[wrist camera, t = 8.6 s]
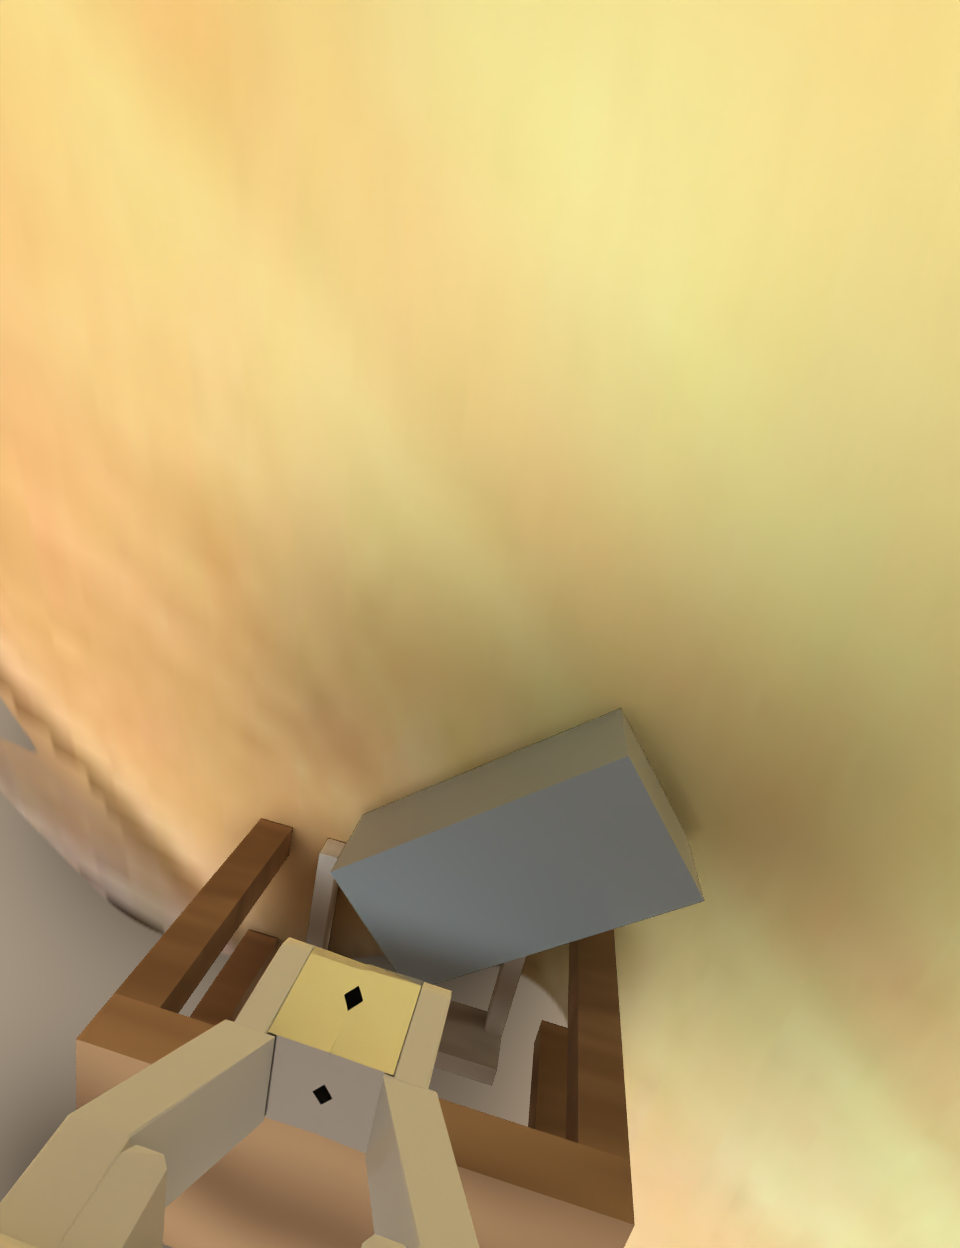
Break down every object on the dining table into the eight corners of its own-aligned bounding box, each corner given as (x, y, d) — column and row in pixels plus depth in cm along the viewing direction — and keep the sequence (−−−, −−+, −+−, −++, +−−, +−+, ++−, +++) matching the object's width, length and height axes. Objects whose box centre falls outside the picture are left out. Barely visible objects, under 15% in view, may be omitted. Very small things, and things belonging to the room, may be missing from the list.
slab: (620, 704, 23) (628, 755, 19) (684, 829, 24) (704, 900, 20) (365, 810, 26) (329, 872, 23) (432, 916, 27) (409, 992, 24)
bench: (260, 818, 27) (75, 1038, 17) (613, 921, 26) (634, 1225, 16) (245, 953, 30) (77, 1213, 20) (565, 1052, 28) (558, 1385, 18)
